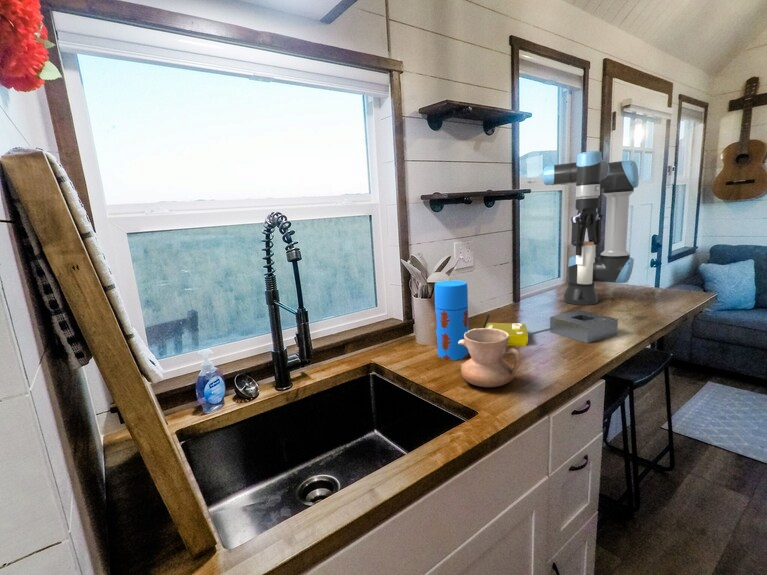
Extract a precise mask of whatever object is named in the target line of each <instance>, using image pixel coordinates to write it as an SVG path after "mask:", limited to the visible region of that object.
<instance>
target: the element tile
mask: <svg viewBox="0 0 767 575" xmlns="http://www.w3.org/2000/svg"><path fill="white" fill-rule="evenodd" d="M485 328H492V329H499V330H502V331H505V332H507V333H508V334H509V340H508V345H507V347H527V346H528V345H529V335H528V332H527V328H526V325H525V324H521V322H518V323H515V322H512V323H511V322H508V323H507V322H487V325H486V327H485Z"/></svg>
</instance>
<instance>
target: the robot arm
mask: <svg viewBox="0 0 767 575" xmlns="http://www.w3.org/2000/svg"><path fill="white" fill-rule="evenodd" d="M602 156H603V155H602V152H601V151H600V150H592V151H583V152H581V153H578V155H577V159H576V160H577V161H574V162H570V163H569V162H568V163H561V164H560V163H559V164H552V165H547V166H545V167H544V168H543V171H542V182H543V184H544V185H545V186H556V185H557V186H558V185H560V186H561V185H562V186H563V185H564V186H571V187H572V186H573V187H574V188H575V198H577V199H576V200H575V210H576V211H577V213H576V215H575V216H572V217H570V221H571V241H570V242H571V243H570V244H571V246H573V247H575V255H573V256H571V257H570V258H569V259H568V266H567V267H568V268H567V269H568V271H567V272H568V273H567V287H566V290H565V293H564V295H563V302H564V303H567V304H569V305H571V304H572V305H579V306H589V305H596V304H598V302H599V296H598V294H597V290H596V287H595V282H597V283H610V284H611V283H614V284H626V283H628V282H629V280H630V279H631V275H632V273H633V268H634V261H635V259H634V258H633V257H630V256H631V252H629V251H628V250H627V241H628V225H629V224H628V222H629V205H630V196H631V195H632V194H633V193H634V191H635V189H636V188H638V187H639V184H640V182H639V181H640V180H639V178H640V176H639V170H638V165H637V163H636V162H635V160H619V161H614V162H607V161H606V160H603V158H602ZM601 191H602V195H604V196H605V198H606V205H605V206H606V210H605V226H604V227H605V230H604V231H605V232H604V250H603V251H602V252H601V253H600V255H599V256H600V257H599V256H597V255H596V250H597V249H596V247H597V246H596V245H600V243H601V240H602V239H601V238H602V220H603V216H604V215H603V214H599V213H598V211H597V210H598V209H599V208H600V205H601V204H600V203H601V200H600V199H601V198H600V197H599V196H601ZM586 232H587V239H588V240H587V241H592V242H594V255H593V279H592V284H578V283H577V266H578V264H580V265H584V250H585V246H583V242H584V241H585V236H586Z"/></svg>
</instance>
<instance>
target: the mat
mask: <svg viewBox="0 0 767 575" xmlns="http://www.w3.org/2000/svg"><path fill="white" fill-rule="evenodd" d="M520 323H521V324H525V325H526V328H527V332H528V336H531V335H534V334H538V333H541V332H545V331H550V326H547V325H544V324H541V323H537V322H533V321H530V320H526V321H521V322H520Z"/></svg>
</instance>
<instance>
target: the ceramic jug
mask: <svg viewBox="0 0 767 575" xmlns="http://www.w3.org/2000/svg"><path fill="white" fill-rule="evenodd" d="M508 340H509V334H508V333H507V332H505V331H502V330H499V329H492V328H483V327H481V328H473V329H470V330H469V329H468V332H466V333H465V334H464V340H459V342H458V344H460V345H464V346H465V347H466V348H468V354H469V356H470V358H469V359H467V360H466V361H464V362H463V363H461V364H460V367H461V368H460V373H461V376H462V377H463V379H464V380H465V381H466V382H467V383H469V384H470V385H474V386H476V387H480V388H481V387H482V388H497V387H498V388H499V387H502V386H504V385H507V384H508V383H510V382H511V381H512V380H513V379H514V378H515V375H516V372H517V371H518V369H519V368H520V366H521V363H522V362H521V361H522V356H521V353H520V352H519V350H518V349H516V348H514V347H508V346H507V345H508ZM507 354H513V355H514V357H515V363H514V366H513V367H512V365H511V364H510V363H508V362H507V360H504V359H503V357H504V356H506V355H507Z"/></svg>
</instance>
